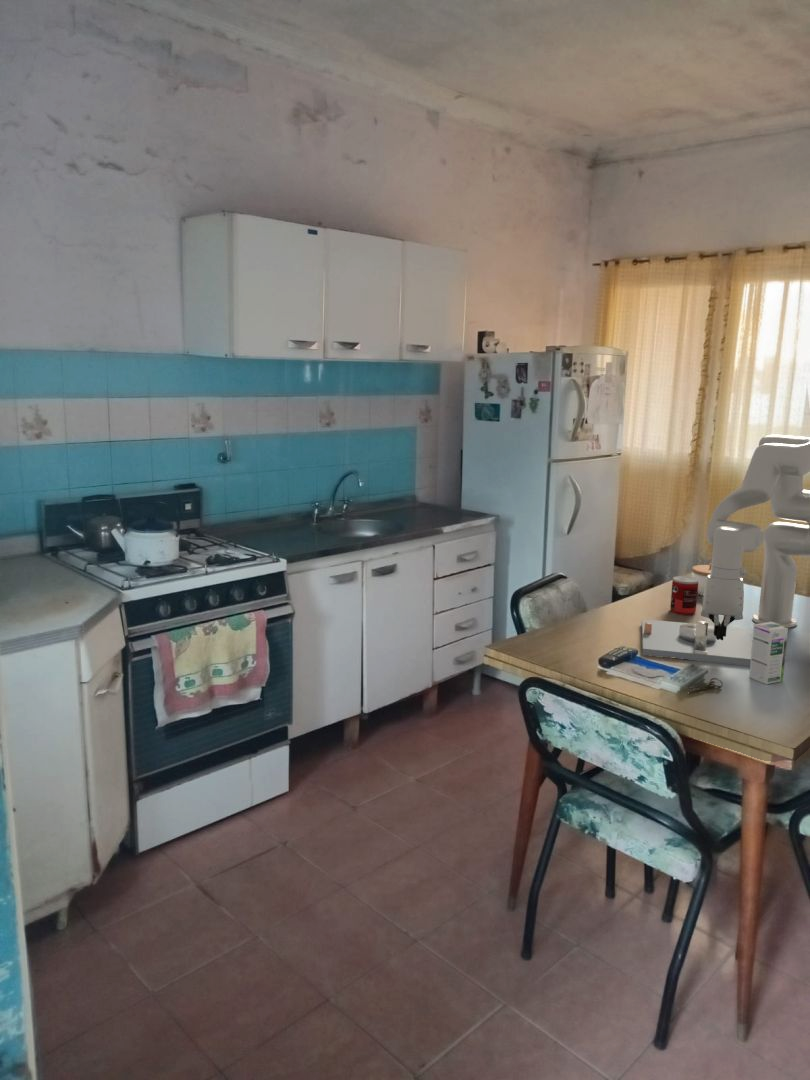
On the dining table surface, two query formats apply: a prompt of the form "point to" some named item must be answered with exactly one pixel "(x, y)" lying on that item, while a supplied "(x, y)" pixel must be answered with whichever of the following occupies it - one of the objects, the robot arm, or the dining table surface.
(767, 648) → the syrup box
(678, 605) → the canned food
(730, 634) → the board
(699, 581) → the lidded bowl
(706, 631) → the grey piece
